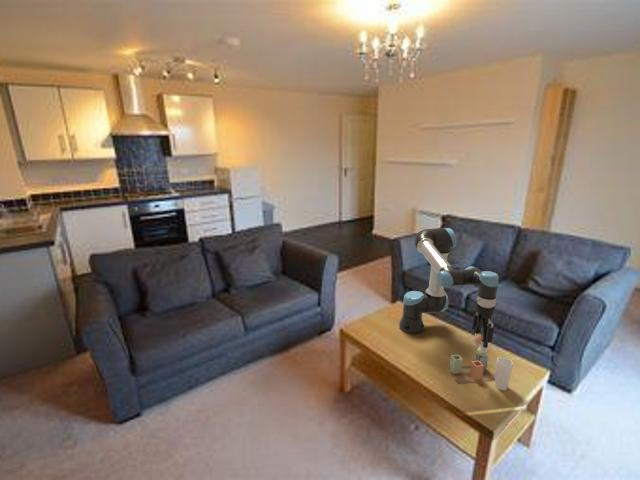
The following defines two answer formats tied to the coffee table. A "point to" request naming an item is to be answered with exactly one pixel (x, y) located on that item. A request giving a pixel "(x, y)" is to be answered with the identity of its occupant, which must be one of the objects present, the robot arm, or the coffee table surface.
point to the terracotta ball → (479, 338)
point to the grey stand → (482, 360)
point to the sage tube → (455, 364)
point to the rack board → (466, 378)
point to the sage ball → (482, 353)
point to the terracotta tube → (476, 370)
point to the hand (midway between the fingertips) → (479, 348)
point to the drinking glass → (503, 372)
